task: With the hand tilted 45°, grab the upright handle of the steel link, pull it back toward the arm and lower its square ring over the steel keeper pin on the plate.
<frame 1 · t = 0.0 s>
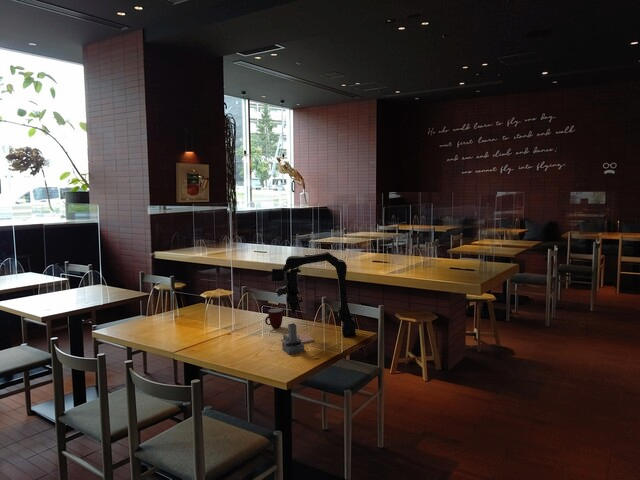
hand: (293, 310, 248), 15 cm above the table, tool pointing down, fingers open, 9 cm apart
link: (293, 350, 232), on the table
keeper: (297, 341, 245), on the table
mug: (274, 328, 268), on the table
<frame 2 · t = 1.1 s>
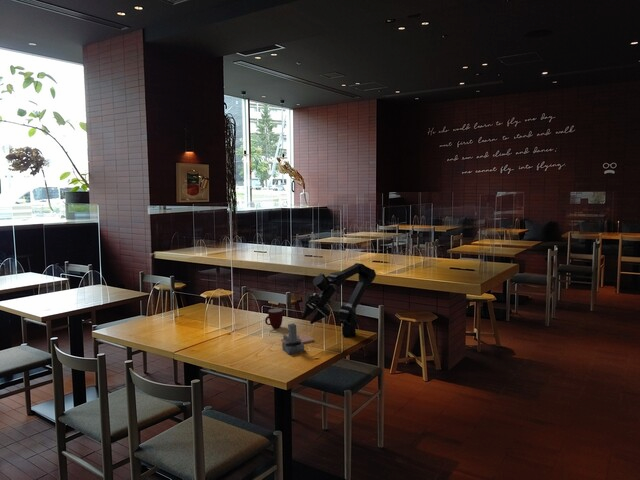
hand: (306, 321, 234), 13 cm above the table, tool tilted 45°, fingers open, 9 cm apart
nothing on the table moved.
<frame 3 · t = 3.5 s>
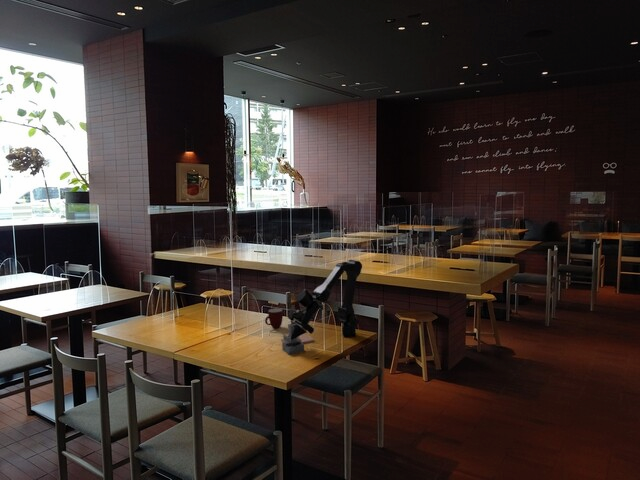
hand: (290, 338, 231), 7 cm above the table, tool tilted 45°, fingers closed on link, 3 cm apart
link: (293, 350, 232), on the table, touching gripper
everything else where it was.
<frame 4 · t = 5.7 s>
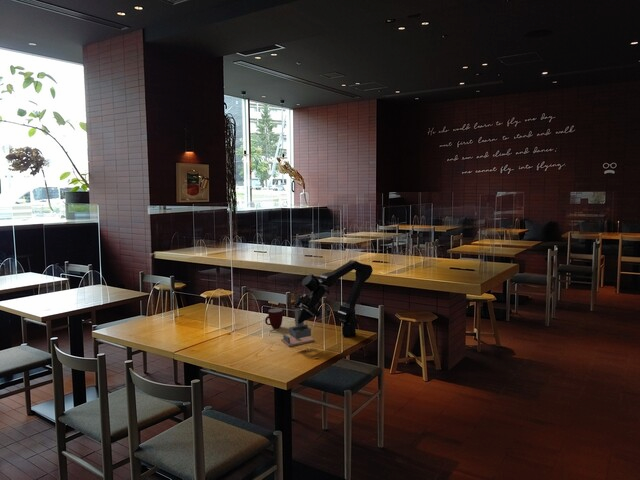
hand: (296, 322, 233), 13 cm above the table, tool tilted 45°, fingers closed on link, 3 cm apart
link: (300, 335, 234), point 7 cm above the table, touching gripper
everything else where it was.
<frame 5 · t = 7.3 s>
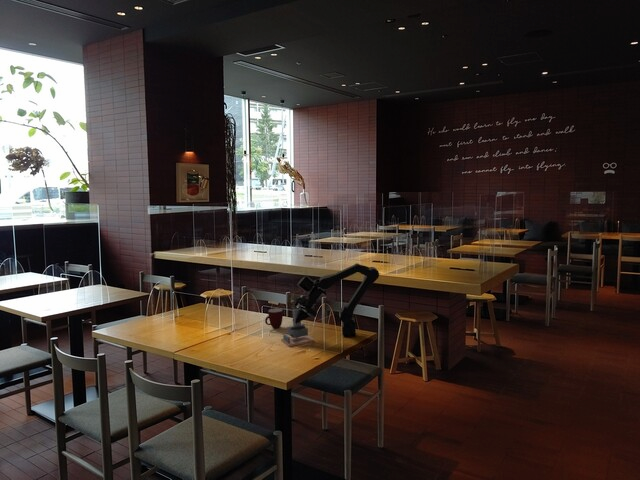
hand: (294, 322, 243), 10 cm above the table, tool tilted 45°, fingers closed on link, 3 cm apart
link: (297, 334, 245), point 4 cm above the table, touching gripper
everything else where it was.
when the fingers open (9 cm above the table, at t = 8.2 s): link drops 1 cm, resting on keeper.
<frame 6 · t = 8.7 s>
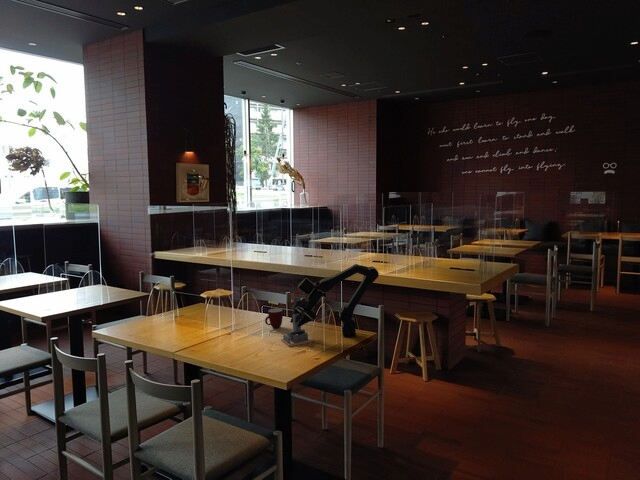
hand: (294, 324, 243), 9 cm above the table, tool tilted 45°, fingers open, 8 cm apart
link: (297, 339, 245), point 1 cm above the table, touching keeper
everything else where it was.
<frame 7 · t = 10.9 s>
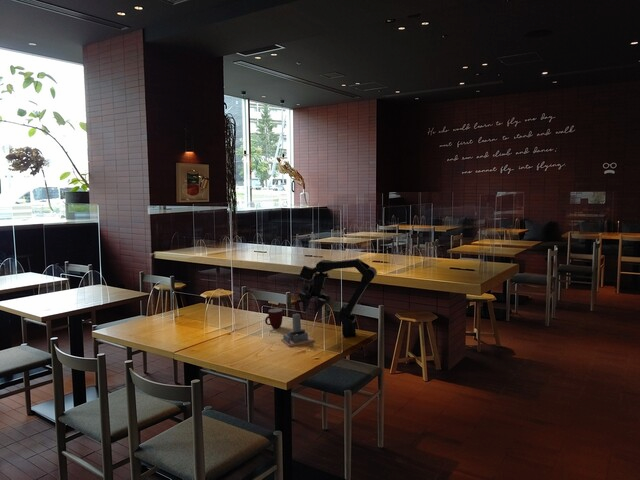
hand: (310, 312, 253), 12 cm above the table, tool tilted 20°, fingers open, 9 cm apart
nothing on the table moved.
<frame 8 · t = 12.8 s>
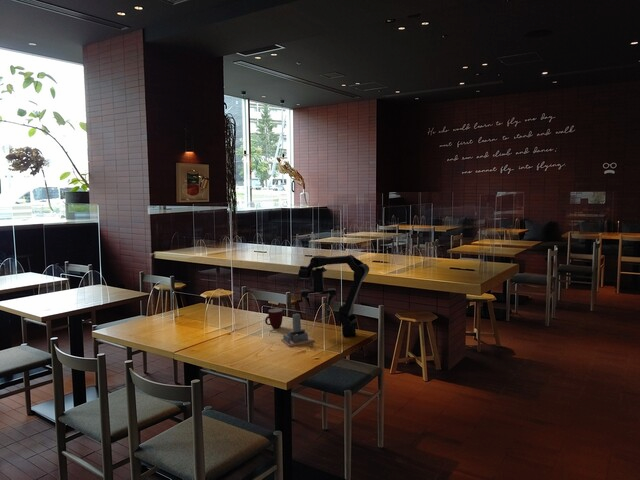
hand: (319, 308, 257), 13 cm above the table, tool pointing down, fingers open, 9 cm apart
nothing on the table moved.
at the end: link 0.1 cm off-centre on the keeper, point 1.0 cm above the keeper's base; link tilted 0°; the gripper is holding nothing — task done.
